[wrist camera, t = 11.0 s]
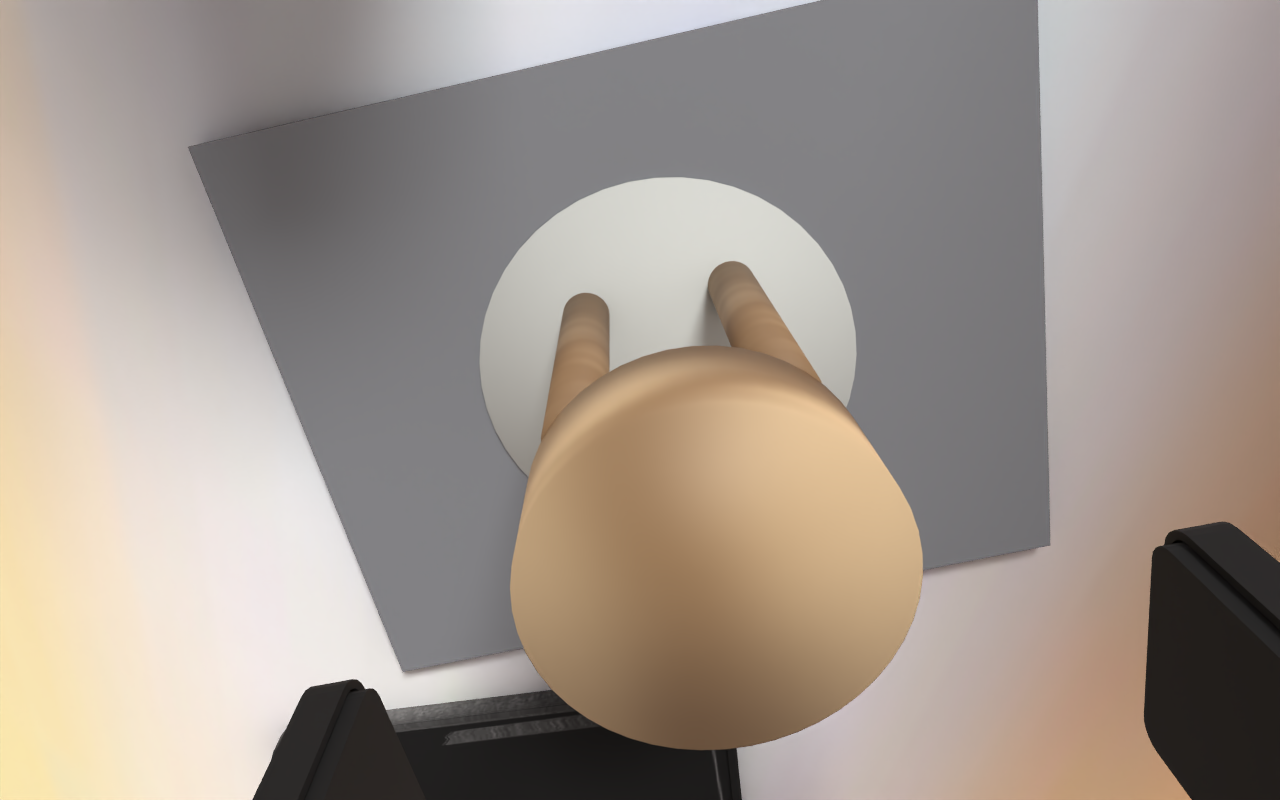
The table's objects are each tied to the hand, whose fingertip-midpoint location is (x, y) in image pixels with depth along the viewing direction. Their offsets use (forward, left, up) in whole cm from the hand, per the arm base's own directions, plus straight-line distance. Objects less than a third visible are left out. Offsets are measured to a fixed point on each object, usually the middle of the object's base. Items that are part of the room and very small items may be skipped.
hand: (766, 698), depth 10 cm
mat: (0, +1, -14) cm, 14 cm away
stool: (0, 0, -13) cm, 13 cm away
